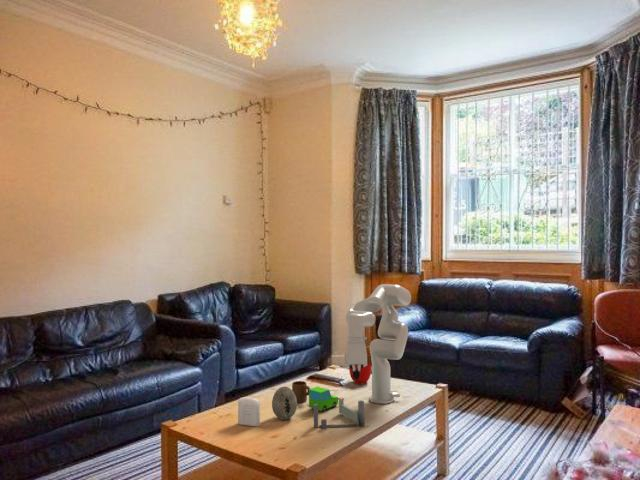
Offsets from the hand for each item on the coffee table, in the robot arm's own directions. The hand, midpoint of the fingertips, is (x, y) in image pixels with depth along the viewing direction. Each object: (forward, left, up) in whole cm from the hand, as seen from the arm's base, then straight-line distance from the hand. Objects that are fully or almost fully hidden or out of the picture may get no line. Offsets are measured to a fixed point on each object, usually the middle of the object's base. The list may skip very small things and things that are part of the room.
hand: (356, 378), depth 234 cm
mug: (+26, -23, -18) cm, 39 cm away
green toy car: (+15, -14, -19) cm, 28 cm away
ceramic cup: (-7, -53, -18) cm, 57 cm away
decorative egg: (+34, 0, -18) cm, 39 cm away
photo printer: (+50, +6, -18) cm, 54 cm away
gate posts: (+9, +11, -18) cm, 23 cm away
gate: (+4, +2, -17) cm, 18 cm away
